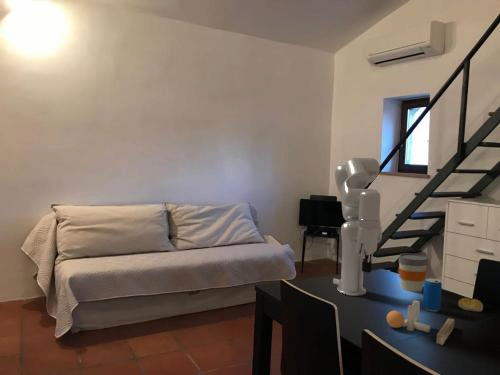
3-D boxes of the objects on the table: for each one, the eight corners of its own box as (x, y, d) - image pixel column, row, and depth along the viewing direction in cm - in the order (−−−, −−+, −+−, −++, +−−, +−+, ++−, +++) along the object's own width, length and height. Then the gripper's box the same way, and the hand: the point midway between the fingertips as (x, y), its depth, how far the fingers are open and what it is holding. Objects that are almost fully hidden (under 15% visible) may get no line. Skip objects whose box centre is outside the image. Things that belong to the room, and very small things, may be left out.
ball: (396, 333, 155) (382, 321, 158) (406, 321, 157) (392, 309, 160) (398, 329, 150) (383, 317, 153) (408, 316, 152) (394, 305, 155)
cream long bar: (436, 343, 143) (436, 334, 142) (447, 326, 157) (448, 318, 157) (442, 345, 142) (443, 336, 141) (453, 327, 156) (454, 319, 156)
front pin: (403, 322, 156) (427, 328, 150) (405, 317, 157) (429, 324, 152) (403, 327, 157) (428, 334, 151) (406, 322, 158) (430, 329, 153)
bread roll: (459, 303, 182) (459, 294, 182) (483, 307, 178) (483, 298, 177) (456, 309, 175) (457, 299, 175) (481, 314, 171) (482, 304, 170)
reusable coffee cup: (425, 286, 204) (427, 254, 202) (426, 294, 192) (428, 261, 190) (397, 282, 208) (398, 252, 206) (396, 290, 196) (398, 258, 195)
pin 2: (410, 324, 158) (411, 301, 157) (412, 322, 160) (413, 300, 159) (417, 326, 157) (418, 303, 156) (419, 324, 159) (420, 301, 158)
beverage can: (441, 313, 170) (443, 283, 169) (424, 311, 171) (426, 281, 170) (438, 307, 176) (440, 278, 175) (421, 305, 178) (423, 277, 177)
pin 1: (405, 329, 153) (407, 306, 152) (407, 327, 155) (409, 304, 154) (412, 331, 152) (414, 308, 151) (414, 329, 154) (416, 306, 153)
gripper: (366, 220, 171) (364, 265, 173) (351, 225, 159) (349, 274, 161) (385, 222, 167) (382, 269, 169) (371, 227, 155) (368, 277, 157)
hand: (366, 271), depth 165 cm, fingers closed
